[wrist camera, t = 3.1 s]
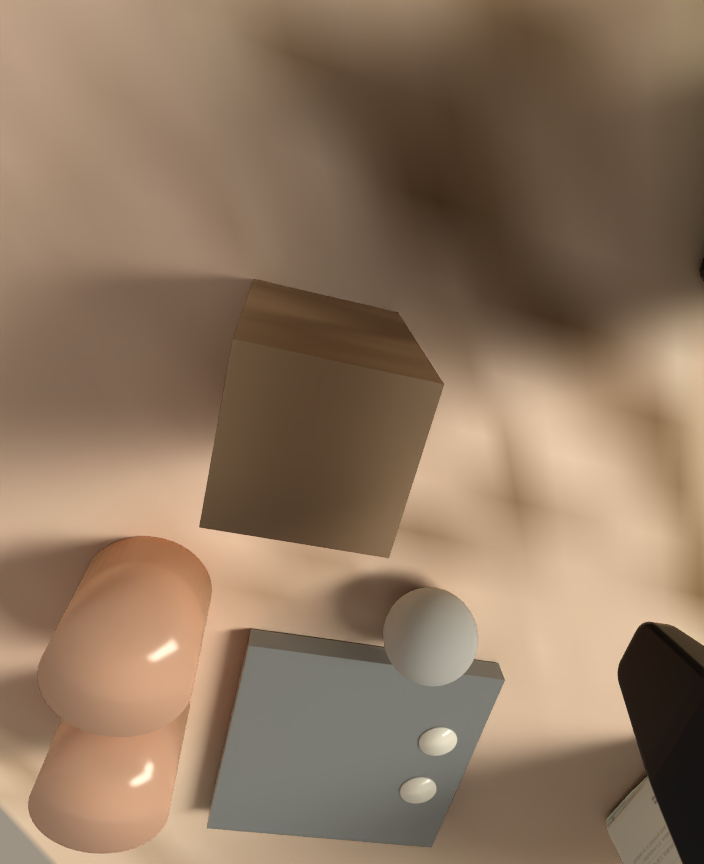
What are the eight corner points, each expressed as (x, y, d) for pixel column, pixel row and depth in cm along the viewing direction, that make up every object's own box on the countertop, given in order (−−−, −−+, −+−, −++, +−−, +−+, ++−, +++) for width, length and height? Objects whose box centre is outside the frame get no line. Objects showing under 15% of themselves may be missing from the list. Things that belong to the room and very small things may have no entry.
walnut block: (397, 312, 17) (443, 383, 12) (362, 441, 19) (388, 557, 13) (253, 278, 17) (232, 339, 11) (228, 415, 18) (199, 527, 13)
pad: (498, 663, 23) (505, 681, 22) (427, 828, 26) (431, 848, 25) (250, 629, 21) (249, 647, 20) (209, 808, 25) (206, 829, 24)
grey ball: (476, 576, 21) (503, 638, 18) (450, 645, 22) (471, 713, 19) (391, 562, 21) (405, 624, 18) (368, 633, 22) (378, 702, 19)
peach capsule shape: (197, 666, 22) (177, 768, 18) (181, 748, 23) (160, 858, 20) (77, 651, 21) (31, 754, 17) (69, 736, 23) (25, 848, 19)
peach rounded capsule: (220, 546, 20) (203, 634, 16) (202, 644, 21) (181, 744, 18) (90, 526, 19) (41, 612, 16) (80, 628, 21) (33, 728, 17)
